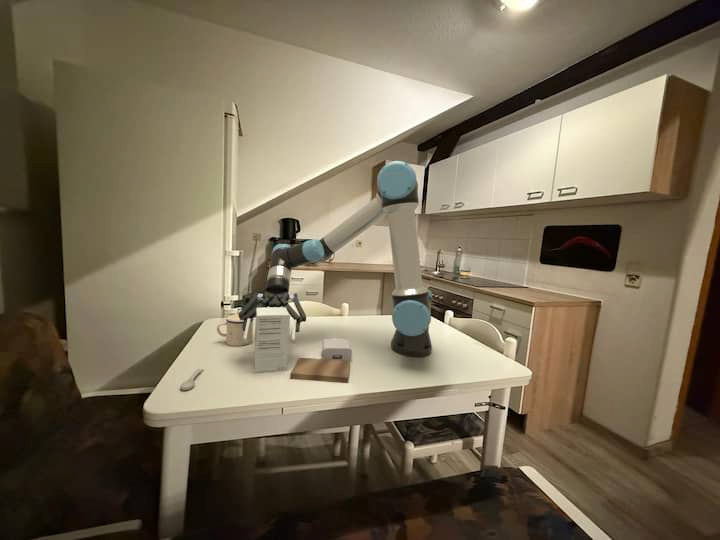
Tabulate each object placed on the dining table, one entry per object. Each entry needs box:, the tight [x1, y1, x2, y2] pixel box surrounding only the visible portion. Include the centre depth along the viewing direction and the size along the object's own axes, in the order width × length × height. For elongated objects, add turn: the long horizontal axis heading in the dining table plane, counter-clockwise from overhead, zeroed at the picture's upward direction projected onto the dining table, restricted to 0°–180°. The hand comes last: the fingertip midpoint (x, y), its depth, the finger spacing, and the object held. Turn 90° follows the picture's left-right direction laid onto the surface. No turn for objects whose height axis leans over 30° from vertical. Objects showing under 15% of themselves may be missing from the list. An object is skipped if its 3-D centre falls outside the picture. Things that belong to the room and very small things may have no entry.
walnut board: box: [289, 357, 351, 384], centre depth 86 cm, size 16×11×2 cm
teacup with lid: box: [216, 309, 255, 347], centre depth 103 cm, size 12×9×12 cm
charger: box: [321, 338, 353, 362], centre depth 100 cm, size 5×9×15 cm
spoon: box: [180, 368, 205, 391], centre depth 76 cm, size 3×12×2 cm, turn 12°
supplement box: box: [253, 306, 291, 374], centre depth 87 cm, size 10×9×17 cm
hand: (269, 341), depth 85 cm, fingers open, 13 cm apart
